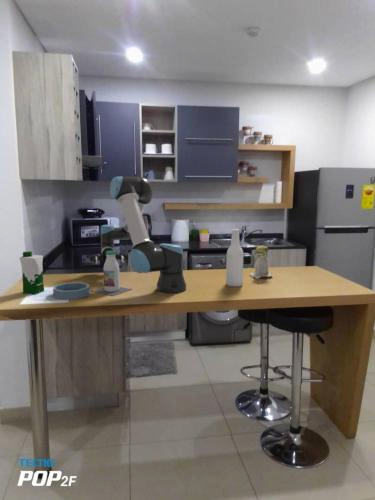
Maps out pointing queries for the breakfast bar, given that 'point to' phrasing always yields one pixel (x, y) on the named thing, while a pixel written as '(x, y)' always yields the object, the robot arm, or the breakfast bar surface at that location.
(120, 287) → the mat
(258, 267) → the figurine
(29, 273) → the milk carton
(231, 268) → the alcohol
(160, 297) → the breakfast bar surface
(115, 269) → the milk bottle
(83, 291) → the bowl
